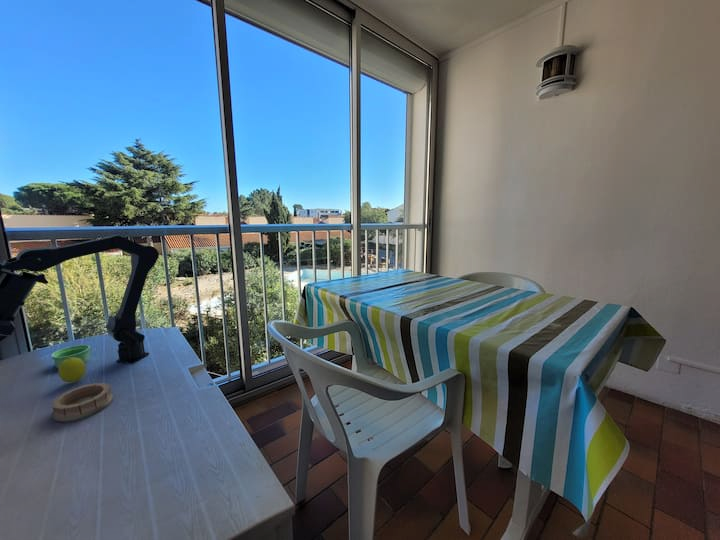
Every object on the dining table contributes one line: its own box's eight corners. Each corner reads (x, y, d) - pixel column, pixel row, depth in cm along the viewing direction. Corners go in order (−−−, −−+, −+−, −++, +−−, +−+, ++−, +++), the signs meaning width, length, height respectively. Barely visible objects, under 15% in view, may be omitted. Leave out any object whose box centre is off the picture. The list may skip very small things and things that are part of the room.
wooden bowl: (88, 391, 79) (86, 380, 78) (124, 394, 77) (122, 383, 77) (38, 420, 68) (35, 407, 67) (80, 424, 66) (77, 411, 66)
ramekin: (45, 371, 89) (42, 358, 88) (67, 357, 97) (64, 346, 97) (80, 368, 91) (77, 355, 90) (98, 355, 100) (96, 343, 99)
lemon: (91, 380, 84) (87, 355, 83) (66, 390, 79) (61, 364, 78) (82, 375, 87) (77, 351, 85) (57, 385, 82) (51, 359, 80)
